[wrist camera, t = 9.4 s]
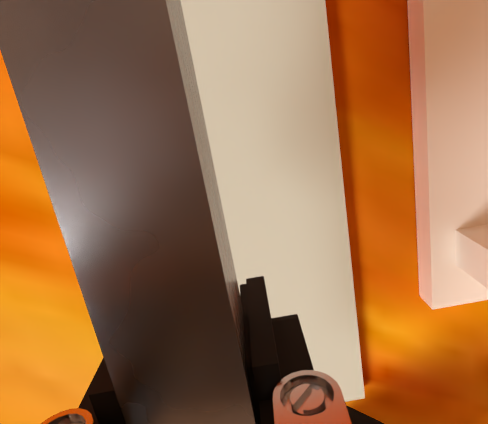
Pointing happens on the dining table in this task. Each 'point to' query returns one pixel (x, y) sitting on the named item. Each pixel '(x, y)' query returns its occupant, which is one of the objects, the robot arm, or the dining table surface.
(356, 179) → the dining table surface
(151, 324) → the rail
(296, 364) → the robot arm
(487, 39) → the hook rack
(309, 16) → the mat
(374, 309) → the dining table surface
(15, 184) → the dining table surface
